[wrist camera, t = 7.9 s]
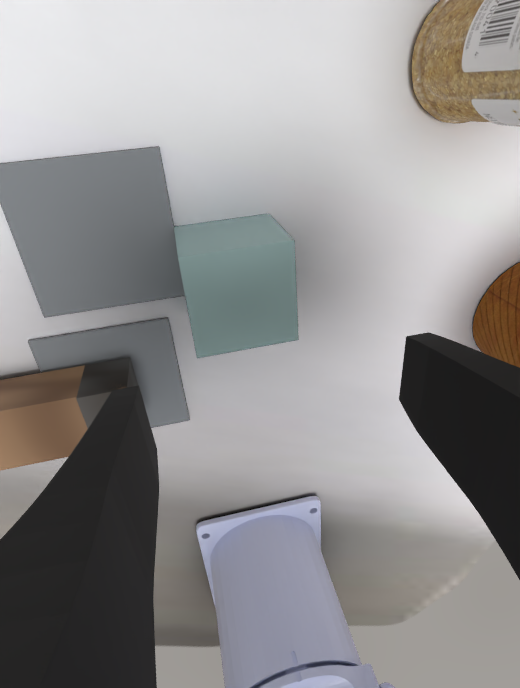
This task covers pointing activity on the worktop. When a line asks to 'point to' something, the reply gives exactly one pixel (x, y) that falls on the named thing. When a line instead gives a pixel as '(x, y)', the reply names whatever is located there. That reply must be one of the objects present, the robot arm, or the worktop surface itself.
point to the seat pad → (93, 229)
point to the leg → (55, 409)
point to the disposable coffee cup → (500, 318)
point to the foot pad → (123, 342)
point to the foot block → (238, 283)
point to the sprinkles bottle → (470, 62)
